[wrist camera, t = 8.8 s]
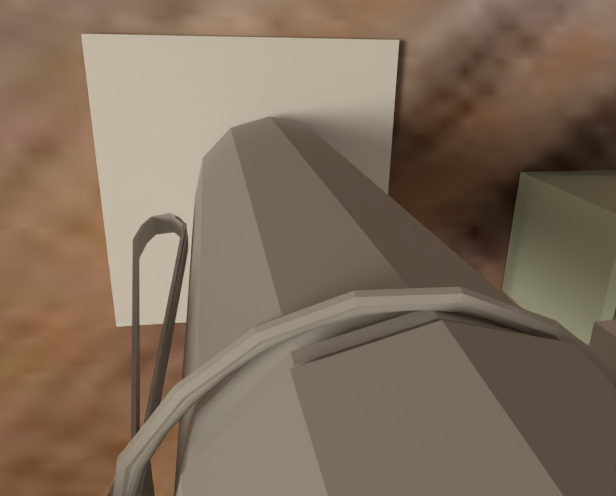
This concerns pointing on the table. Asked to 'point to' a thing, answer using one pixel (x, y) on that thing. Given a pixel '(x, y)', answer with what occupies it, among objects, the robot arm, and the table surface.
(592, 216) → the sage open box
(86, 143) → the table surface
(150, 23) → the table surface
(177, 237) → the felt mat
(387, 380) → the water bottle
